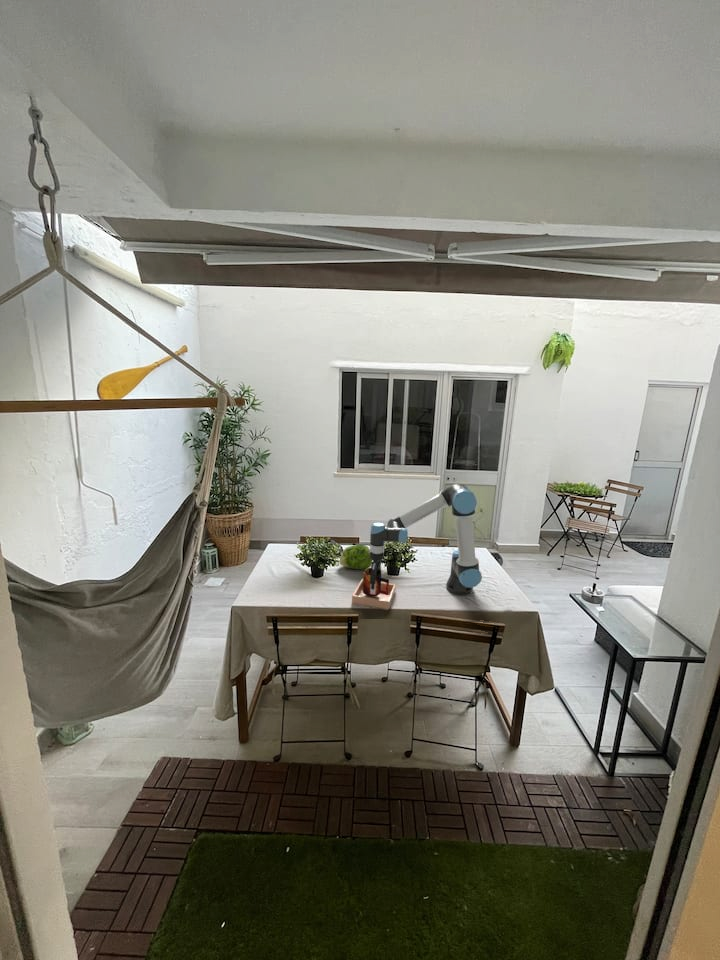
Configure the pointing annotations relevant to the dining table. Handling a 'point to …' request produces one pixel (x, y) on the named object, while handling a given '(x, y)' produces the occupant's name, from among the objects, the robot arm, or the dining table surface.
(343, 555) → the lettuce
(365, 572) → the mug
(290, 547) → the dining table surface
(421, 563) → the dining table surface
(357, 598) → the tray
